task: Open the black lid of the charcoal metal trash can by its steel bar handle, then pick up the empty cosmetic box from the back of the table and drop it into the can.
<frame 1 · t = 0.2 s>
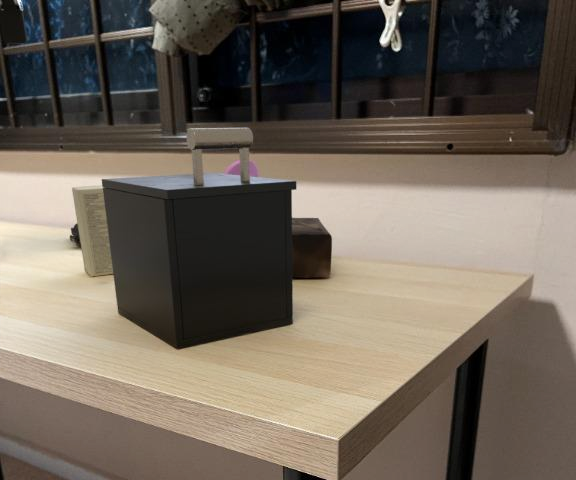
hand: (1, 38, 81), 31 cm above the table, tool pointing down, fingers open, 9 cm apart
dark brown block: (299, 267, 93), on the table
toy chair: (235, 255, 102), on the table
carrying case: (99, 242, 115), on the table
black lid: (193, 158, 61), point 17 cm above the table, hinge at 0.0°
cosmetic box: (108, 273, 90), on the table
trash can: (202, 318, 68), on the table
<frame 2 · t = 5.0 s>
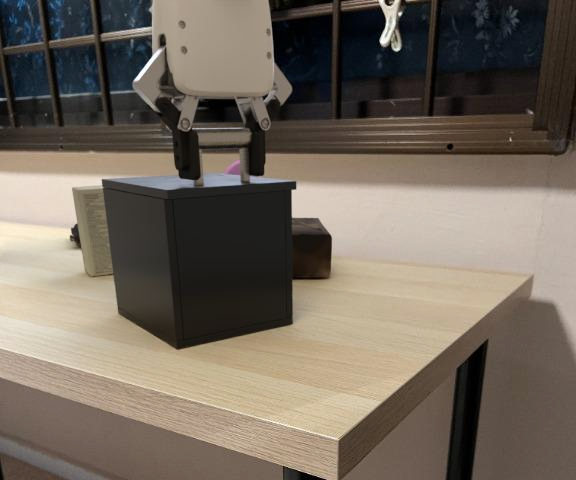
hand: (222, 175, 57), 15 cm above the table, tool pointing down, fingers closed on black lid, 6 cm apart
black lid: (193, 158, 61), point 17 cm above the table, hinge at 0.0°, touching gripper
everything else where it was.
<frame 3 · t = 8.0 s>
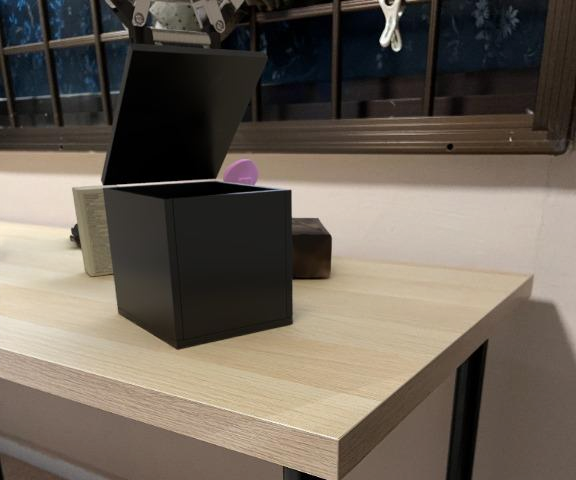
hand: (178, 76, 59), 24 cm above the table, tool pointing down, fingers closed on black lid, 6 cm apart
black lid: (171, 104, 62), point 22 cm above the table, hinge at 45.1°, touching gripper
everything else where it was.
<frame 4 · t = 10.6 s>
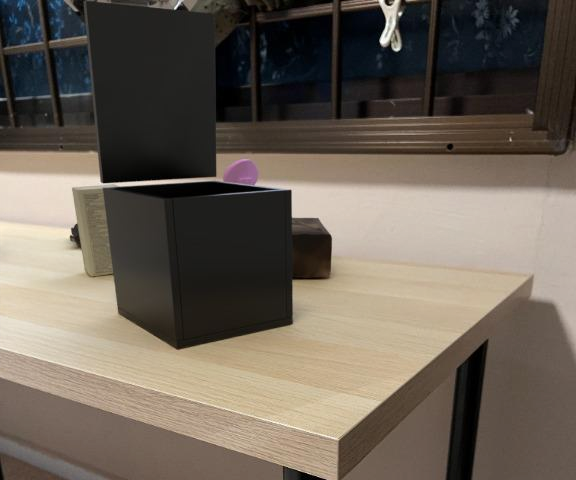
hand: (138, 71, 67), 25 cm above the table, tool pointing down, fingers closed on black lid, 6 cm apart
black lid: (147, 97, 66), point 23 cm above the table, hinge at 84.8°, touching gripper
everything else where it was.
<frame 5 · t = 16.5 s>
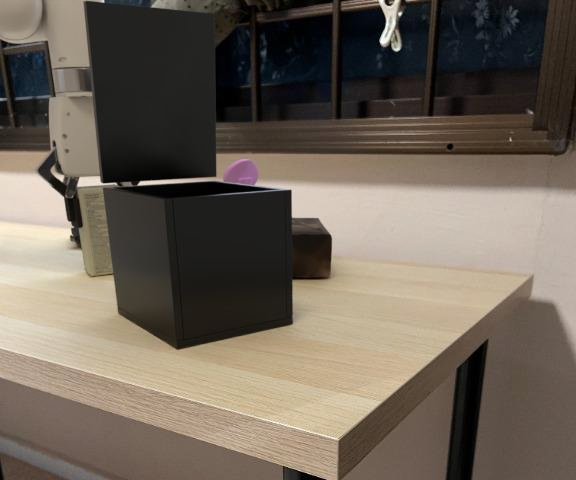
hand: (101, 223, 88), 7 cm above the table, tool pointing down, fingers closed on cosmetic box, 6 cm apart
black lid: (147, 97, 66), point 23 cm above the table, hinge at 84.8°
cosmetic box: (108, 273, 90), on the table, touching gripper
everything else where it was.
when the fingers open (18 cm above the table, at t = 27.8 s): cosmetic box drops 11 cm, resting on trash can.
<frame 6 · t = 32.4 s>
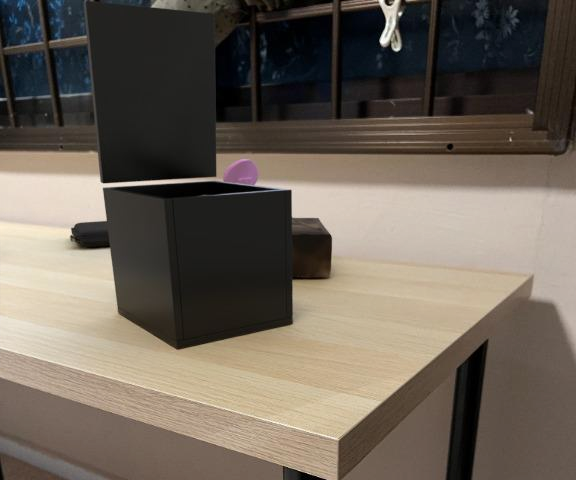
cosmetic box: (197, 316, 66), point 1 cm above the table, touching trash can
everything else where it was.
at the end: black lid at +85° (first picture: +0°); cosmetic box inside the target area in the trash can (1.3 cm from its centre), point 0.6 cm above the trash can's base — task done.
